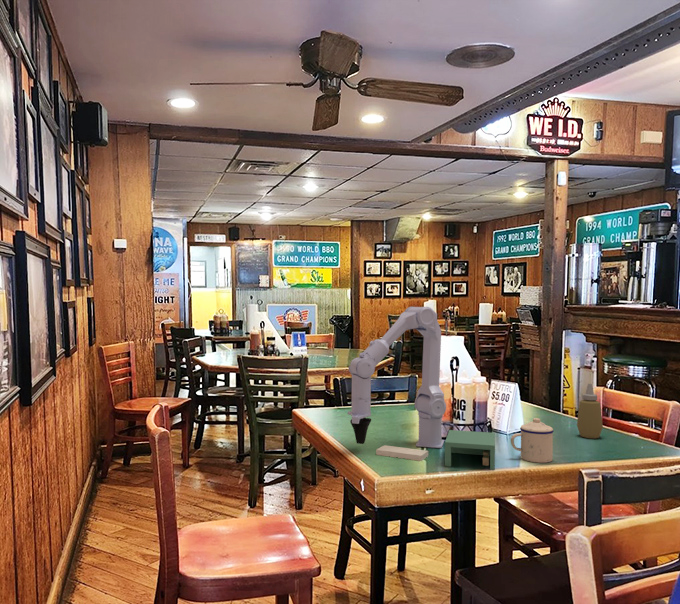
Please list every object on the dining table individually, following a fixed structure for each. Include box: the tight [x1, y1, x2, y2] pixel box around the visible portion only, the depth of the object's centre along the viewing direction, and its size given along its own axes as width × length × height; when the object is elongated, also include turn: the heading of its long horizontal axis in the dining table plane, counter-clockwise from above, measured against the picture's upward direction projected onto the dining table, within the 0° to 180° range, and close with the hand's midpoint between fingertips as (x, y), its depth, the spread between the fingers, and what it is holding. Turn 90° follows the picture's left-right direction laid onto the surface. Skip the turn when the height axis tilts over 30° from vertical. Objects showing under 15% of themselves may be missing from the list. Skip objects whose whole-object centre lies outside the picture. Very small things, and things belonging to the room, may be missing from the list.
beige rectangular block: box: [375, 444, 429, 462], centre depth 162 cm, size 6×14×2 cm, turn 62°
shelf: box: [444, 429, 496, 471], centre depth 157 cm, size 16×13×6 cm
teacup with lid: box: [510, 417, 554, 464], centre depth 159 cm, size 12×9×12 cm
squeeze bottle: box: [576, 383, 604, 439], centre depth 187 cm, size 8×8×18 cm
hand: (360, 443), depth 165 cm, fingers closed
